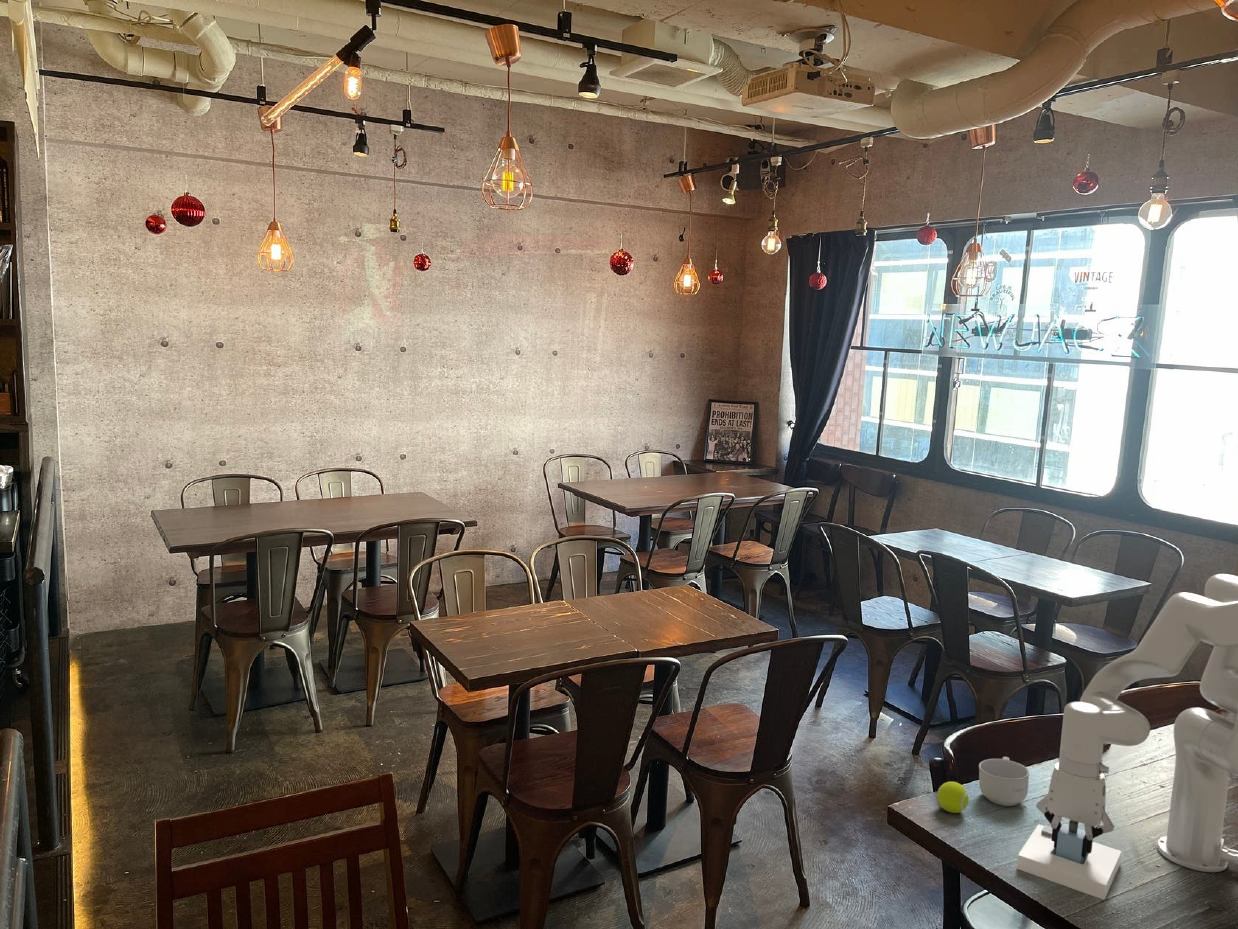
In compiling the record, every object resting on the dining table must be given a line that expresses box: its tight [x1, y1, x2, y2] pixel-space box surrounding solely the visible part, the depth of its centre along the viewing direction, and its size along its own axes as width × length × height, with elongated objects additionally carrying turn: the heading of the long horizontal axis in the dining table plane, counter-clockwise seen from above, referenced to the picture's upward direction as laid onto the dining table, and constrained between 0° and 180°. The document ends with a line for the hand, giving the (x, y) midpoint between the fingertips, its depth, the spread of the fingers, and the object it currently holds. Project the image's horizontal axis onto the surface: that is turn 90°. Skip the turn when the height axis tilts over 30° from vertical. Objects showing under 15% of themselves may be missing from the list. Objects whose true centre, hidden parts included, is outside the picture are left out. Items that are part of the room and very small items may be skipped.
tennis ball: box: [936, 781, 970, 814], centre depth 208 cm, size 7×7×7 cm
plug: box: [1056, 820, 1086, 864], centre depth 186 cm, size 4×4×9 cm
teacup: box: [978, 756, 1030, 807], centre depth 215 cm, size 14×11×8 cm
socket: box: [1016, 824, 1122, 901], centre depth 187 cm, size 16×16×4 cm
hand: (1070, 849), depth 187 cm, fingers closed on plug, 4 cm apart
